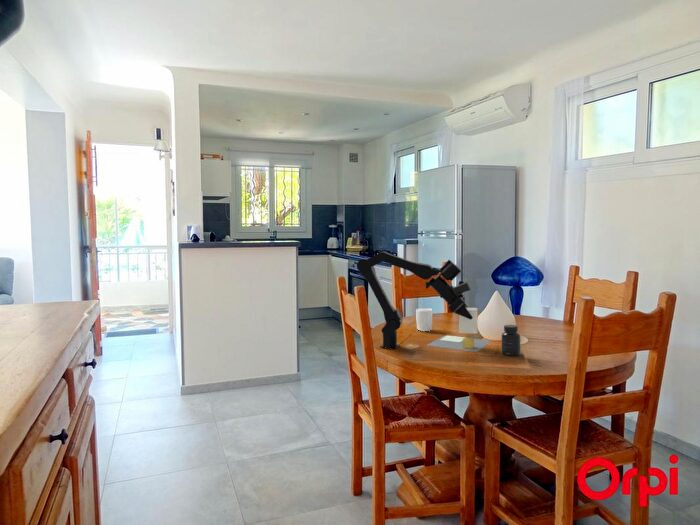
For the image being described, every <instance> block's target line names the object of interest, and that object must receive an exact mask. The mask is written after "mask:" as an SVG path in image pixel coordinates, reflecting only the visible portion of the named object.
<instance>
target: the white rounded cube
mask: <svg viewBox="0 0 700 525" xmlns="http://www.w3.org/2000/svg"><path fill="white" fill-rule="evenodd" d="M466 309H467V310H468V312H469V313H470V314H471V316H472V317H473V318H472V319H468V318H466V317H463V316H461V315H458V333H459V334H477V335H478V312H479V311H478V308H477V307H468V308H466Z"/></svg>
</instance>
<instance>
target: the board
mask: <svg viewBox="0 0 700 525" xmlns="http://www.w3.org/2000/svg"><path fill="white" fill-rule="evenodd" d="M491 342H492V340H489V339H481V338H480V339H479V338H475V337H467V336H465V337H464V336H463V337H462V336H454V335H443V336H441V337H439V338H437V339H435V340H433V341H431V342H430V343H428V344H427V345H426V346H428V347H435V348H442V349H448V350H449V349H450V350H457V351H458V350H459V351H468V352H475V353H478V352H479V351H481V350H482V349H484V348H485V347H486V346H487V345H488V344H490V343H491Z"/></svg>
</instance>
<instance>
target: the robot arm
mask: <svg viewBox="0 0 700 525" xmlns="http://www.w3.org/2000/svg"><path fill="white" fill-rule="evenodd" d="M382 262H383V263H386V264H388V265H392V266H394V267H397V268H400V269H402V270H406V271H409V272H411V273H412V274H414V276H416V277H419V278H420V279H422V280H428V281H425V289H426V290H428V289H429V288H430V287H431V288H432V289H433V290H434V291H435V292H436V293H437V294H438V295H439V297H440V298H441V299H443V300H444V301H445V302H446V304H447V305H448V310H449V311H450V312H451V313H452V314H456V315H458V316H459V315H461V316H463V317H466V318H468V319H472V318H473V317H472V316H471V314H470V313H469V312H468V310H467V309H466V308H469V307H468V305H467V303H466V301H465V298H466V297H465V295H464V294H463V293H465V292H469V291H470V290H471V286H470V285H469V284H468V281H463V280H460V281H458V284H457V285H456V286H453V285H451V284H449V283H448V282H449V281H450V282H452V281H454V279H455V278H456V277H458V276H459V275H460V274H461V273H462V271H463V270H462V269H460V267H459V266H458V265H457V264H455V263H454V262H453V261H452V260H450V259H448V260H447V261H446V262H445V264H443V265H442V267H441V268H440V267H433V266H432V265H431V264H429V263H423V262H416V261H410V260H409V259H406V258H403V257H399V256H398V255H394V254H392V253H389V252H388V251H380V252H379V253H377V254H376V255H373V256H372V257H371V256H370V257H369V258H368V257H364V258H361V259H359V260H358V261H357V263H356V268H357V271H358V272H359V273H360V275H361V276H362V277H363V278H364V279H365V280H366V281H367V283H368V285H369V286H370V289H371V290H372V291H371V292H373V294H374V297H375V298H376V300H377V302H378V304H379V306H380V307H381V310H382V312H383V316H384V321H385V324H383V326H382V328H381V330H380V331H381V333H382V344H381V345H380V346H379V348H381V347H386V348H385V349H388V348H391V349H390V350H394V348H395V349H397V348H399V347H401V344H398V335H397V334H398V332H397V330H399V329H400V328H401V325H402V324H403V315H402V313H401V312H400V309H399V308H398V307H397V308H396V309H395V308H394V307H393V305H392V303H391V302H390V300H389V298H388V296H387V294H386V292H385V290H384V289H383V287H382V284H381V282H380V281H379V279H378V277H377V272H376V269H375V266H376V265H378V264H381V263H382ZM435 276H437V277H435ZM429 279H430V280H429ZM398 346H399V347H398ZM396 347H397V348H396Z"/></svg>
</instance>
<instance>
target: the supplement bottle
mask: <svg viewBox="0 0 700 525" xmlns="http://www.w3.org/2000/svg"><path fill="white" fill-rule="evenodd" d="M518 331H519V329H518V325H516V324H505V325H504V326H503V333H501V339H500V340H501V355H502V356H505V357H509V358H510V357H511V358H513V357H520V356H521V334H520V333H519V332H518Z"/></svg>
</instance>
